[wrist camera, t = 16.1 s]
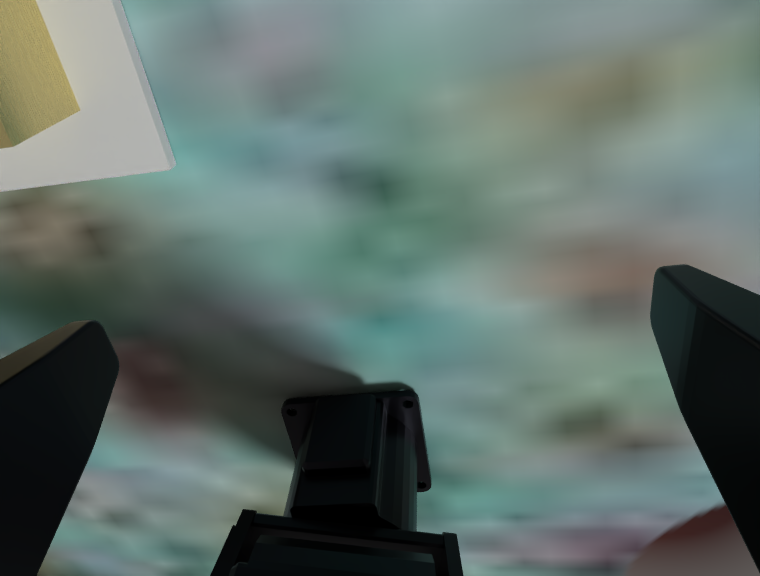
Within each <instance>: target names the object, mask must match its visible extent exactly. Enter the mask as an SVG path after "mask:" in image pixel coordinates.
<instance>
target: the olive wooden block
mask: <svg viewBox="0 0 760 576" xmlns="http://www.w3.org/2000/svg"><path fill="white" fill-rule="evenodd" d="M78 111H80V108H79V105H78V103H77V100H76V98H75V95H74V93H73V90H72V88H71V86H70V83H69V81H68V78H67V76H66V73H65V71H64V68H63V66H62V64H61V61H60V59H59V56H58V54H57V51H56V49H55V46H54V44H53V41H52V39H51V37H50V34H49V32H48V29H47V27H46V24H45V22H44V19H43V17H42V14H41V12H40V10H39V7H38V5H37V2H36V0H0V149H2V148H9V147H14V146H16V145H18V144H20V143H21V142H23V141H25V140H27V139H29V138H31V137H32V136H34V135H36V134H38V133H40V132H42V131H43V130H45V129H47V128H49V127H51V126H53V125H55V124H56V123H58V122H60V121H62V120H64V119H66V118H67V117H69V116H71V115H73V114H75V113H77V112H78Z"/></svg>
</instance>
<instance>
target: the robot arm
mask: <svg viewBox="0 0 760 576" xmlns="http://www.w3.org/2000/svg"><path fill="white" fill-rule="evenodd" d="M650 319H651V326H652V330H653V333H654V336H655V338H656V341H657V344H658V347H659V350H660V353H661V356H662V359H663V362H664V365H665V368H666V371H667V374H668V377H669V380H670V383H671V386H672V388H673V391H674V394H675V397H676V400H677V403H678V405H679V408H680V411H681V413H682V415H683V417H684V420H685V422H686V424H687V426H688V428H689V430H690V432H691V434H692V436H693V438H694V440H695V442H696V444H697V446H698V449H699V451H700V453H701V455H702V457H703V459H704V461H705V463H706V465H707V467H708V469H709V471H710V473H711V475H712V477H713V479H714V481H715V483H716V485H717V487H718V489H719V491H720V493H721V495H722V497H723V499H724V501H725V503H726V505H727V507H728V510H729V511H730V514H731V515H732V518H733V520H734V522H735V524H736V526H737V528H738V530H739V532H740V534H741V536H742V538H743V540H744V542H745V544H746V546H747V548H748V550H749V552H750V554H751V556H752V558H753V560H754V562H755V564H756V566H757V568H758V570H759V573H760V295H758V294H756V293H754V292H751V291H749V290H746V289H744V288H742V287H739V286H737V285H735V284H732V283H730V282H727V281H725V280H723V279H720V278H718V277H716V276H713V275H711V274H709V273H706V272H704V271H701V270H699V269H697V268H694V267H692V266H690V265H685V264H682V265H671V266H662V267H659V268H658V269H657V270H656V272H655V275H654V283H653V292H652V302H651V311H650ZM118 371H119V361H118V357H117V355H116V353H115V351H114V349H113V346H112V344H111V342H110V340H109V338H108V336H107V334H106V332H105V330H104V328H103V326H102V325H101V324H100V323H99V322H98V321H95V320H85V321H75V322H71V323H69V324H67V325H65V326H63V327H61V328H59V329H57V330H56V331H54V332H52V333H50V334H48V335H46V336H44V337H42V338H40V339H38V340H36V341H35V342H33V343H31V344H29V345H27V346H25V347H23V348H21V349H19V350H17V351H15V352H14V353H12V354H10V355H8V356H6V357H4V358H2V359H0V576H37V573H38V571H39V569H40V567H41V564H42V562H43V560H44V558H45V556H46V553H47V551H48V549H49V547H50V544H51V542H52V540H53V538H54V535H55V533H56V531H57V529H58V527H59V524H60V522H61V520H62V518H63V515H64V513H65V511H66V509H67V506H68V504H69V502H70V500H71V498H72V495H73V493H74V491H75V489H76V486H77V484H78V482H79V480H80V477H81V475H82V473H83V471H84V469H85V466H86V464H87V462H88V459H89V457H90V455H91V452H92V450H93V447H94V445H95V442H96V439H97V436H98V433H99V430H100V427H101V424H102V421H103V418H104V415H105V412H106V409H107V406H108V403H109V400H110V397H111V393H112V390H113V387H114V384H115V381H116V378H117V375H118ZM406 400H410V401H412V402H409V403H408V402H405V401H406ZM290 408H292V409H295V411H294V410H291V409H290ZM281 412H282V416H283V419H284V422H285V426H286V429H287V432H288V435H289V438H290V441H291V444H292V448H293V451H294V454H295V457H296V464H295V469H294V473H293V477H292V481H291V486H290V490H289V494H288V498H287V502H286V507H285V511H284V515H283V516H278V515H269V514H260V513H257V511H255V510H246V509H243V510H242V513H241V515H240V517H239V519H238V522H237V524H236V526H235V525H233V526H232V528H231V531H230V533H229V535H228V537H227V540H226V542H225V544H224V546H223V548H222V551H221V553H220V555H219V557H218V559H217V562H216V564H215V566H214V568H213V571H212V573H211V575H210V576H463V570H462V564H461V558H460V552H459V546H458V540H457V535H456V534H455V533H446V532H443V533H442V534H434V533H425V532H417V531H416V530H417V492H425V491H428V490H429V489H430V488H431V474H430V467H429V461H428V454H427V448H426V441H425V435H424V428H423V422H422V415H421V409H420V402H419V397H418V395H417V394H416V393H415V392H413V391H410V390H403V391H389V392H376V393H362V394H348V395H334V396H320V397H306V398H293V399H287V400H286V401H284V403H283V406H282V410H281Z"/></svg>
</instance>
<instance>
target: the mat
mask: <svg viewBox="0 0 760 576" xmlns="http://www.w3.org/2000/svg"><path fill="white" fill-rule="evenodd" d="M36 2H37V5H38V7H39V10H40V12H41V14H42V17H43V19H44V22H45V24H46V27H47V29H48V32H49V34H50V37H51V39H52V41H53V44H54V46H55V49H56V51H57V54H58V56H59V59H60V61H61V64H62V66H63V68H64V71H65V73H66V76H67V78H68V81H69V83H70V86H71V88H72V90H73V93H74V95H75V98H76V100H77V103H78V105H79V108H80V111H78V112H77V113H75V114H73V115H71V116H69V117H67V118H66V119H64V120H62V121H60V122H58V123H56V124H55V125H53V126H51V127H49V128H47V129H45V130H43V131H42V132H40V133H38V134H36V135H34V136H32V137H31V138H29V139H27V140H25V141H23V142H21V143H20V144H18V145H16V146H14V147H9V148H2V149H0V192H2V191H10V190H18V189H25V188H33V187H41V186H49V185H57V184H64V183H72V182H80V181H88V180H96V179H103V178H111V177H119V176H127V175H134V174H142V173H150V172H158V171H166V170H171V169H172V168H173V167H174V166H175V165H176V161H175V159H174V156H173V153H172V150H171V147H170V144H169V141H168V138H167V135H166V132H165V129H164V126H163V123H162V121H161V118H160V115H159V112H158V109H157V106H156V103H155V100H154V97H153V94H152V91H151V88H150V85H149V82H148V80H147V77H146V74H145V71H144V68H143V65H142V62H141V59H140V56H139V53H138V50H137V47H136V44H135V42H134V39H133V36H132V33H131V30H130V27H129V24H128V21H127V18H126V15H125V12H124V9H123V6H122V4H121V1H120V0H36Z"/></svg>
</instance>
